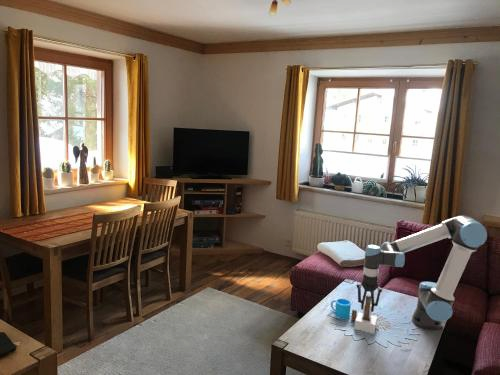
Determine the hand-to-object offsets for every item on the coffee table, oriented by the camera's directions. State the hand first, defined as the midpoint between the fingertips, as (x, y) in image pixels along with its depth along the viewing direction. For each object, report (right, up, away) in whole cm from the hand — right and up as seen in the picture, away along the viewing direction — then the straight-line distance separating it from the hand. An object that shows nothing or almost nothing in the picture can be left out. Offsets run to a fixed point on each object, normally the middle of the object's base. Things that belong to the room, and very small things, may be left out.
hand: (366, 315), depth 214 cm
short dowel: (-5, -5, +8) cm, 10 cm away
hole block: (0, -6, +1) cm, 7 cm away
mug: (-11, -4, +14) cm, 19 cm away
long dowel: (0, -4, +1) cm, 4 cm away
